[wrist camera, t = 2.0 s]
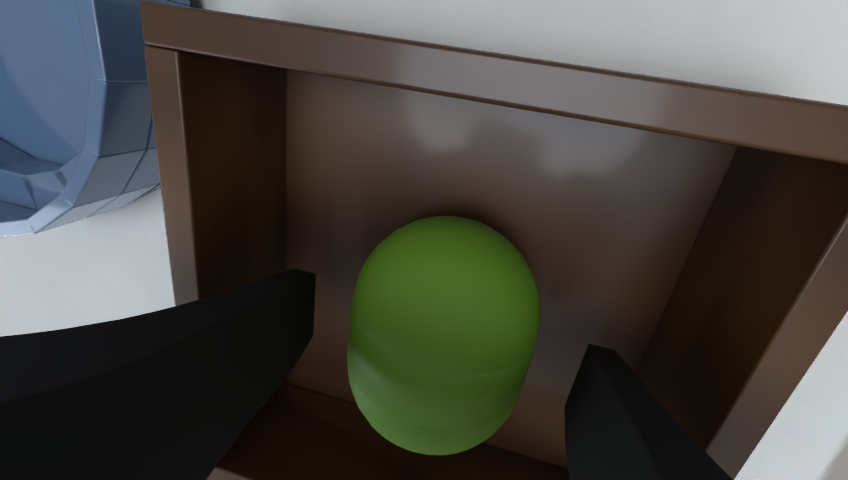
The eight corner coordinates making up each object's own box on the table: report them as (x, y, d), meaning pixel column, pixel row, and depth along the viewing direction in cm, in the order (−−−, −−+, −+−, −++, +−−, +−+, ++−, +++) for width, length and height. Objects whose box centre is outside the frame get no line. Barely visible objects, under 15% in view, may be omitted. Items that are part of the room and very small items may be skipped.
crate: (601, 484, 15) (630, 634, 11) (273, 383, 17) (194, 477, 13) (783, 106, 10) (975, 124, 5) (271, 28, 12) (136, -2, 8)
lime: (506, 387, 14) (497, 528, 9) (374, 350, 14) (310, 465, 10) (557, 214, 11) (578, 297, 7) (395, 180, 12) (321, 235, 8)
